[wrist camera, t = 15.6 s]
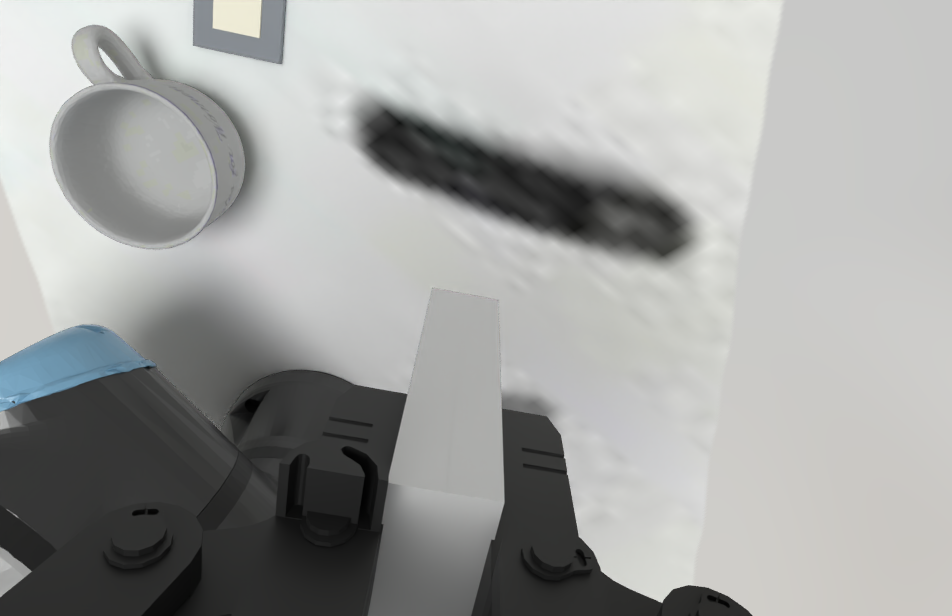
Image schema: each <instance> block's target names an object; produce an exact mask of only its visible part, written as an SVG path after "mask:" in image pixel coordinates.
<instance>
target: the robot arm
mask: <svg viewBox="0 0 952 616" xmlns="http://www.w3.org/2000/svg"><path fill="white" fill-rule="evenodd" d="M156 366H157V365H156V364H155V363H154V362H153V361H150V360H145V359H144V358H143V357H142V356H141V355H140V354H138V353H137V352H136V351H135V350H134V349H133V348H131V347H130V346H129V345H128V344H127V343H126V342H125V341H123V340H122V339H121V338H120V337H119V336H118V335H117V334H115V333H114V332H113V331H111V330H109V329H108V328H105V327H103V326H99V325H79V326H75V327H71V328H68V329H66V330H63V331H61V332H58V333H56V334H54V335H51V336H49V337H47V338H45V339H43V340H41V341H39V342H37V343H35V344H33V345H31V346H29V347H27V348H25V349H23V350H21V351H19V352H18V353H16V354H14V355H12V356H10V357H8V358H7V359H5V360H3V361H1V362H0V616H752V615H751V614H750V613H749V611H748V610H746V609H745V608H743V607H742V606H741V605H739V604H738V603H737V602H735V601H734V600H732V599H731V598H729V597H728V596H726V595H724V594H721V593H719V592H717V591H714V590H712V589H709V588H705V587H698V586H690V585H688V586H684V587H680V588H676V589H673V590H672V591H671V592H670V593H669V595H668V596H667V597H666V598H665V599H664V600H663V603H660V602H658V601H656V600H654V599H651V598H649V597H647V596H644V595H642V594H640V593H637V592H635V591H633V590H630V589H628V588H626V587H624V586H622V585H621V584H619V583H617V582H615V581H613V580H612V579H610V578H609V577H608V576H606V575H605V574H604V573H603V572H601V570H600V566H599V564H598V562H597V559H596V557H595V555H594V552H593V551H592V550H591V549H590V548H589V547H588V546H587V545H586V544H585V542H584V541H583V540H582V539H581V538H579V536H578V530H577V525H576V519H575V513H574V508H573V502H572V496H571V491H570V485H569V479H568V475H567V468H566V462H565V459H564V451H563V445H562V439H561V435H560V434H559V432H558V431H557V430H556V428H555V427H554V426H553V424H552V423H551V422H550V420H549V419H548V418H547V417H546V416H540V415H535V414H529V413H523V412H518V411H512V410H506V409H502V400H501V367H500V334H499V301H498V300H496V299H491V298H485V297H480V296H475V295H469V294H464V293H458V292H453V291H448V290H442V289H437V288H432V291H431V296H430V300H429V304H428V309H427V313H426V317H425V322H424V326H423V330H422V334H421V339H420V343H419V347H418V352H417V356H416V360H415V365H414V369H413V373H412V378H411V382H410V386H409V390H408V394H403V393H397V392H392V391H386V390H380V389H375V388H369V387H363V386H357V385H352V384H350V383H348V382H346V381H344V380H342V379H340V378H338V377H335V376H332V375H329V374H325V373H321V372H315V371H306V370H296V371H285V372H280V373H276V374H273V375H270V376H267V377H265V378H263V379H261V380H259V381H257V382H256V383H254V384H252V385H251V386H250V387H249V388H247V389H246V390H245V391H244V392H243V393H242V394H241V396H240V397H239V398H238V399H237V401H236V402H235V404H234V405H233V407H232V408H231V410H230V411H229V413H228V414H227V416H226V418H225V420H224V423H223V425H222V428H221V431H219V430H218V429H217V428H216V427H215V426H214V425H213V424H212V423H211V422H210V421H209V420H208V419H207V418H206V417H205V416H204V415H203V414H202V413H201V412H200V411H199V410H198V409H197V408H196V407H195V406H194V405H193V404H192V403H191V402H190V401H189V400H188V399H187V398H186V397H185V396H184V395H183V394H182V393H181V392H180V391H179V390H178V389H177V388H176V387H175V386H174V385H173V384H172V383H171V382H169V381H168V380H167V379H166V378H165V377H164V376H163V375H162V374H161V373H160V372H159V371H158V370H157V369H156Z"/></svg>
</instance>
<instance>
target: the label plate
mask: <svg viewBox="0 0 952 616" xmlns="http://www.w3.org/2000/svg"><path fill="white" fill-rule="evenodd" d="M285 9H286V0H194V11H193V46H198V47H202V48H207V49H212V50H217V51H221V52H226V53H231V54H235V55H240V56H245V57H250V58H254V59H259V60H264V61H268V62H273V63H278V64H281V63H282V53H283V39H284V24H285Z"/></svg>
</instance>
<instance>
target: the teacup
mask: <svg viewBox="0 0 952 616" xmlns="http://www.w3.org/2000/svg"><path fill="white" fill-rule="evenodd" d="M98 47H99V48H101V49H102V50H103V51H104V52H105V53H106V54H107V55H108V57H109V58H110V59H111V60H112V61H113V62H114V64H115V65H116V66H117V68H118V69H119V71H120V72H121V74H122V75H123V76H124V78H123V77H121V76H118V75H116V74H115V73H113V72H112V71H111V70H110V69H109V68H108V67H107V66H106V65H105V63H104V62H103V60H102V58H101V56H100V53H99V50H98ZM72 52H73V55H74V58H75V60H76V63H77V65H78V67H79V68H80V69H81V71H82V72H83V74H84V75H85V76H86V77H87V78H88V79H89V81H90V82H91V83H92V84H93V86H90V87H87V88H85V89H83V90H81V91H79V92H78V93H76V94H75V95H73V96H72V97H71V98H70V99H68V100H67V101H66V102H65V103H64V104H63V105H62V107H61V108H60V110H59V111H58V113H57V115H56V117H55V119H54V122H53V124H52V128H51V133H50V157H51V162H52V168H53V172H54V174H55V177H56V180H57V182H58V184H59V186H60V188H61V190H62V192H63V194H64V196H65V197H66V199H67V200H68V201H69V203H70V204H71V205H72V207H73V208H74V209H75V210H76V212H77V213H78V214H79V215H80V216H81V217H82V218H83V219H84V220H85V221H86V222H87V223H88V224H90V225H91V226H92V227H94V228H95V229H96V230H97V231H99V232H101V233H102V234H104V235H106V236H107V237H109V238H111V239H113V240H115V241H117V242H120V243H123V244H126V245H129V246H132V247H137V248H144V249H168V248H172V247H175V246H178V245H181V244H183V243H185V242H188V241H190V240H191V239H192V238H194V237H195V236H196V235H198V234H199V233H200V232H201V231H202V230H203V229H204V228H205V227H206V226H208V225H209V224H211V223H212V222H214V221H215V220H216V219H217V218H218V217H220V216H221V215H222V214H223V213H224V212H225V211H226V210H227V209H228V208H229V207H230V206H231V205H232V203H233V202H234V201H235V199H236V197H237V196H238V194H239V192H240V189H241V187H242V184H243V180H244V174H245V156H244V150H243V146H242V143H241V140H240V137H239V135H238V132H237V130H236V128H235V126H234V125H233V123H232V121H231V120H230V118H229V117H228V116H227V114H226V113H225V112H224V111H223V110H222V109H221V108H220V107H219V106H218V105H217V104H216V103H215V102H214V101H213V100H212V99H210V98H209V97H208V96H207V95H205V94H203V93H202V92H200V91H198V90H197V89H195V88H193V87H190V86H188V85H186V84H182V83H179V82H175V81H171V80H164V79H153V77H152V76H151V75H150V74H149V73H148V72H147V71H146V70H145V69H143V67H142V66H141V64H140V63H139V61H138V60H137V59H136V57H135V56H134V55H133V53H132V52H131V51H130V49H129V48H128V47H127V46H126V44H125V43H124V42H123V41H122V40H121V39H120V38H119V37H118V36H117V35H116V34H115V33H114V32H113V31H111V30H110V29H108V28H106V27H104V26H100V25H90V26H86V27H84V28H81V29H80V30H78V31H77V32H76V33H75V34H74V36H73V38H72Z"/></svg>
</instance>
